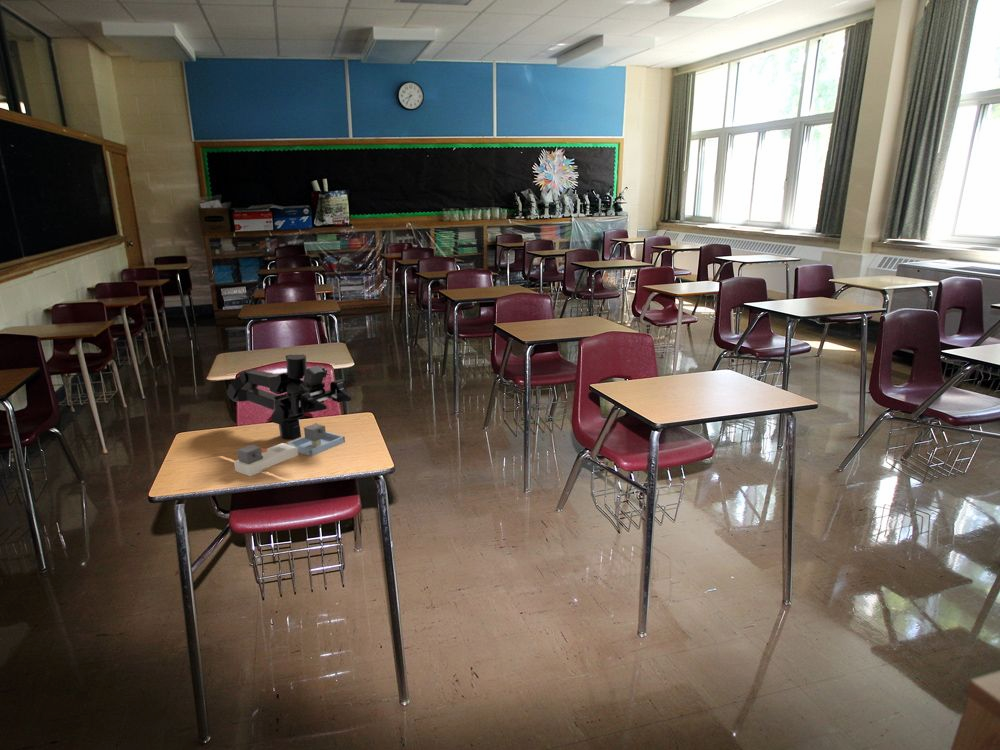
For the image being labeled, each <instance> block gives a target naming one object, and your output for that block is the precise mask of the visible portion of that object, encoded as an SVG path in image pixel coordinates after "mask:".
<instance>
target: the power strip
mask: <svg viewBox="0 0 1000 750" xmlns="http://www.w3.org/2000/svg"><path fill="white" fill-rule="evenodd" d="M236 451H237V457H238V459H237V460H234V461H233V465H234V470H235V472H237V473H240V474H241V475H242V474H243V475H244V476H245V475H246V477H247V476H248V477H252V476H255V475H258V474H259V473H262V472H264V471H266V469H267V468H269V467H273V466H275V465H277V464H280V463H282V462H285V461H288V460H290V459H291V458H294V457H297V456H299V452H298V451H297V447H294V446H291V445H287V443H284V442H281V443H279V444H275V445H273V446H271V447H268V448H264V447H262V448H261V447H260V446H257V445H254V444H249V445H246V446H243V447H240V448H238V449H237V450H236Z"/></svg>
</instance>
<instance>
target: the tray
mask: <svg viewBox="0 0 1000 750" xmlns="http://www.w3.org/2000/svg"><path fill="white" fill-rule="evenodd" d="M344 443H346V437H345V436H344V435H340V434H337V433H333V432H330V431H329V432H328V431H326V437H324V438H322V439H321V445H320V446H318V447H315V446H312V442H311V440H308V439H305V436H301V437H300V438H297V439H293V440H292V441H288V442H286V444H287V445H291V446H294V447H297V451H298V454H302V455H306V456H309V457H312V456H315V455H317V454H320V453H322V452H324V451H328V450H330V449H333V448H335V447H337V446H339V445H341V444H344Z"/></svg>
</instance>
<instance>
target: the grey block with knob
mask: <svg viewBox="0 0 1000 750" xmlns="http://www.w3.org/2000/svg"><path fill="white" fill-rule="evenodd" d="M303 432H304V437H305V439H308V440H311V442H312V446H315V447H318V446H320V445H321V439H322V438H324V437H326V432H327V431H326V425H322V424H319V423H313V424H310V425H308V426H305V427H303Z"/></svg>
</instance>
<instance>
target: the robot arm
mask: <svg viewBox="0 0 1000 750" xmlns="http://www.w3.org/2000/svg"><path fill="white" fill-rule="evenodd" d="M285 363H286V372H280V373H272V372H268V371H267V372H266V371H261V370H257V369H255V368H250V369H247V370H243V371H241V372H240V373H239V374H238V376H237V377H236V378H235V379H234V380H232V381H231V382H230V384H228V388H227V390H226V395H227V397H228V398H229V399H230V400H231V401H233V402H237V403H239V402H240V403H243V402H249V403H253V404H255V405H259V406H261V407H264V408H267V409H270V410H273V412H272V414H271V415H270V418H271V421H272V423H274V424H277V425H278V427H279V436H280V438H281V439H282V440H297V439H299V438H302V433H301V432H302V431H301V425H300V420H299V419H302V418H304V417H305V414H309V413H314V412H318V411H319V412H320V411H324V410H327V409H328V408H327V405H326V404H325V401H326V400H330V399H331V400H332V401H333V402H336V403H342V402H343V403H345V402H351V401H352V397H351V395H350V394H349V393H348V392H347V381H346V380H345V379H342V378H340V379H336V380H334V381H331V382H330V383H329V385H330V389H329V390H326V389H325V387H326V385H325V382H323V381H324V378H327V375H328V370H327V368H325V366H321V365H315V366H313V367H312V366H311V367H308V368H307V366H308V364H307V355H305V354H291V353H290V354H286V355H285ZM258 386H260V387H264V388H265V387H266V388H268V389H269V391H270V392H269V391H265V390H263V389H260V388H258ZM271 392H272V393H271Z"/></svg>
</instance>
